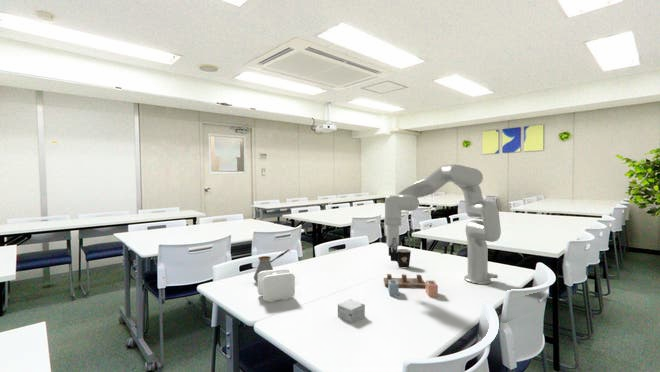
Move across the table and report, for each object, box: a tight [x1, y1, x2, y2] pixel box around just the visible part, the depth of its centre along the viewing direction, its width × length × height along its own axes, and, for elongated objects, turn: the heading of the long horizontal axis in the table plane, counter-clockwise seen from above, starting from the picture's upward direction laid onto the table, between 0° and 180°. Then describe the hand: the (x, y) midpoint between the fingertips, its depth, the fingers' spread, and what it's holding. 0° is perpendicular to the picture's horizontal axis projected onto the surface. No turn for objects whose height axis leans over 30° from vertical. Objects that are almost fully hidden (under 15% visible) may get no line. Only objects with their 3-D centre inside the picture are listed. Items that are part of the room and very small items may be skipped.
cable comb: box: [383, 273, 426, 289], centre depth 158 cm, size 20×10×4 cm, turn 85°
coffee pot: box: [253, 249, 292, 282], centre depth 166 cm, size 21×12×15 cm, turn 128°
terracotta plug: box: [425, 279, 439, 298], centre depth 144 cm, size 4×6×6 cm, turn 175°
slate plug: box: [387, 280, 400, 297], centre depth 145 cm, size 4×6×6 cm, turn 175°
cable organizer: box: [257, 267, 296, 303], centre depth 142 cm, size 15×11×12 cm
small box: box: [337, 298, 366, 324], centre depth 121 cm, size 8×8×5 cm
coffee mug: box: [395, 248, 412, 268], centre depth 191 cm, size 12×9×10 cm
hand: (393, 258), depth 145 cm, fingers open, 9 cm apart
